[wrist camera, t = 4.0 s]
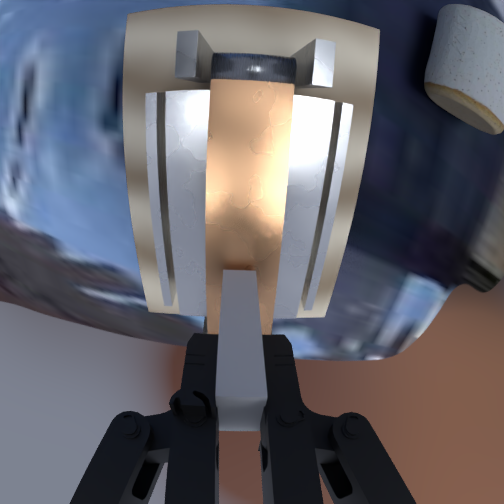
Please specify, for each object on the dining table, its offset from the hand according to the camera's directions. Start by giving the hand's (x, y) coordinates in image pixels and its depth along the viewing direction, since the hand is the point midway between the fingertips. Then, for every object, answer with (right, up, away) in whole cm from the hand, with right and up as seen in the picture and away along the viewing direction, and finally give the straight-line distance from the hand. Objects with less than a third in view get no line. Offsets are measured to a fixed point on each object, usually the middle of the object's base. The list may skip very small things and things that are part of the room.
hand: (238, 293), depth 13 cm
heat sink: (0, +5, +5) cm, 7 cm away
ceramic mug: (+18, +17, +1) cm, 25 cm away
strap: (0, +3, +1) cm, 3 cm away
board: (0, +7, +6) cm, 10 cm away
